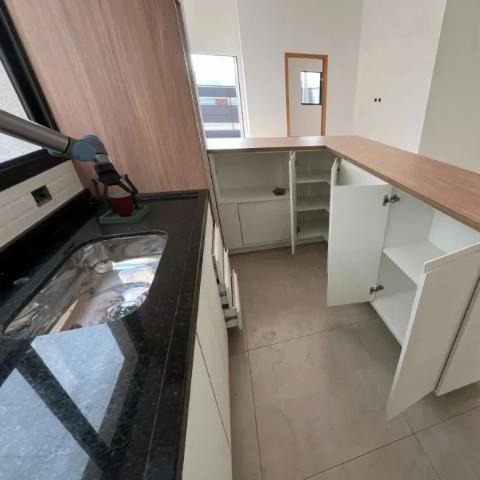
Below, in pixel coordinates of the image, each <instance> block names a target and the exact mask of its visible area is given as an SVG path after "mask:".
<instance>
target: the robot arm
mask: <svg viewBox="0 0 480 480" xmlns="http://www.w3.org/2000/svg"><path fill="white" fill-rule="evenodd" d="M0 134H2V135H6V136H8V137H11V138H14V139H17V140H19V141H22V142H26V143H28V144H32V145H34V146H37V147H40V148H43V149H46V150H47V152H48V154H49V155H50V156H53V157H60V158H61V157H64V158H69V159H73V160H77V161H79V162H82V163H85V162H86V163H88V162H90V163H91V166H92V168H93V169H94V171H95V174H96V176H97V178H95V179H94V178H91V179H90V182H91V184H92V185H93V187H94V191H95V196H96V200H97V202H103V203H104V205H105V207H106V208H109V209H110V210H112V212H113V214H115V210H114V208H113V206H112V204H111V202H110V199H109V197H108V194H109V192H108V191H109V187H113V186H118V187H119V188H121V189H122V190H123V191H124V192H127V193H131V196H132V200H133V206H135V208H136V209H138V206H139V204H138V203H137V202H138V197H137V196H136V195H138V194H139V190H138V188H137V187H136V185H134V183H133V182H132V181H131V179H130V178H129V175H128V174H127V173H125V174H123V175H122V174H120V173H119V172H118V170H117V169H116V166H115V165H114V163H113V161H112V158H111V157H110V155H109V153H108V151H107V149H106V147H105V144H104V143H103V141H102V140H101V138H100V137H99V136H98V135H95V134H88V135H87V134H85V135H82V136H81V137H80V138H79V139H77V138H74V137H71V136H68V135H67V134H64V133H61V132H59V131H56V130H55V129H52V128H49V127H47V126H44V125H42V124H40V123H37V122H35V121H33V120H30V119H28V118H25V117H22V116H20V115H18V114H15V113H13V112H10V111H8V110H6V109H3V108H0ZM122 180H123V181H125V183H126V184H127V185H126V184H125V183H123V182H122ZM99 183H101V184H103V192H102V196H101V193H100V188H99Z"/></svg>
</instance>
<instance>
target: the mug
mask: <svg viewBox="0 0 480 480" xmlns="http://www.w3.org/2000/svg"><path fill="white" fill-rule="evenodd" d="M108 198H109V200H110V202H111V204H112V206H113V208H114V210H115V212H116V213H117V214H118V215H119V216H120V217H130V216H131V214H132V212H133V206H134V204H133V200H132V196H131V193H127V192H126V191H124V192H122V191H121V192H114V193H111V194H109V195H108Z"/></svg>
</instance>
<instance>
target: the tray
mask: <svg viewBox="0 0 480 480" xmlns="http://www.w3.org/2000/svg"><path fill="white" fill-rule="evenodd" d="M150 211H151V208H150V205H148V204H145V205H141V204H140V205H139V204H138V209H136V208H135V206H134V205H133V212H132V214H131V216H130V217H120V216H119V215H118V214H117V213H116V212H115V214H113V212H112V210H111V209H109V210H108V211H107V212H105V213H104V214H103V215H101V216H100V217H99V218H98V221H99V224H100V225H111V224H132V223H133V224H134V223H136V224H137V223H139V222H140V221H141V220H142V219H143V218H144V217H145V216H146V215H147V214H148V213H149V212H150Z"/></svg>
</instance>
